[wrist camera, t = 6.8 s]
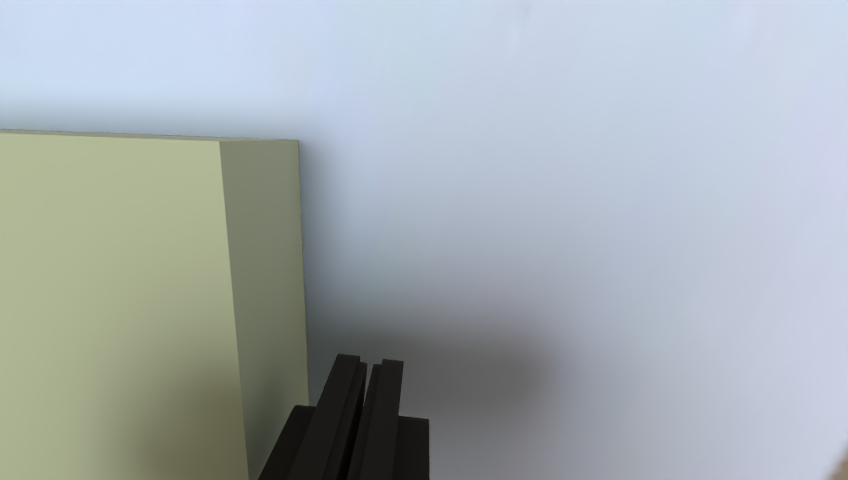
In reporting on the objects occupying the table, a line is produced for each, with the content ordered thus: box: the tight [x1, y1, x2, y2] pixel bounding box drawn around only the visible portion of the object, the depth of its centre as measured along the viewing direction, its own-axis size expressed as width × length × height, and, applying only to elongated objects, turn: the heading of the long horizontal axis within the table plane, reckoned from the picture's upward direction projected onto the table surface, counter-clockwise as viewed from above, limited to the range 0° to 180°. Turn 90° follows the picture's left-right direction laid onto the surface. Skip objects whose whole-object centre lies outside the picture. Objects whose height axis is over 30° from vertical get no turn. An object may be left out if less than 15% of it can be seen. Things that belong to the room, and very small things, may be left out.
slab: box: [0, 129, 309, 480], centre depth 10 cm, size 10×12×4 cm
